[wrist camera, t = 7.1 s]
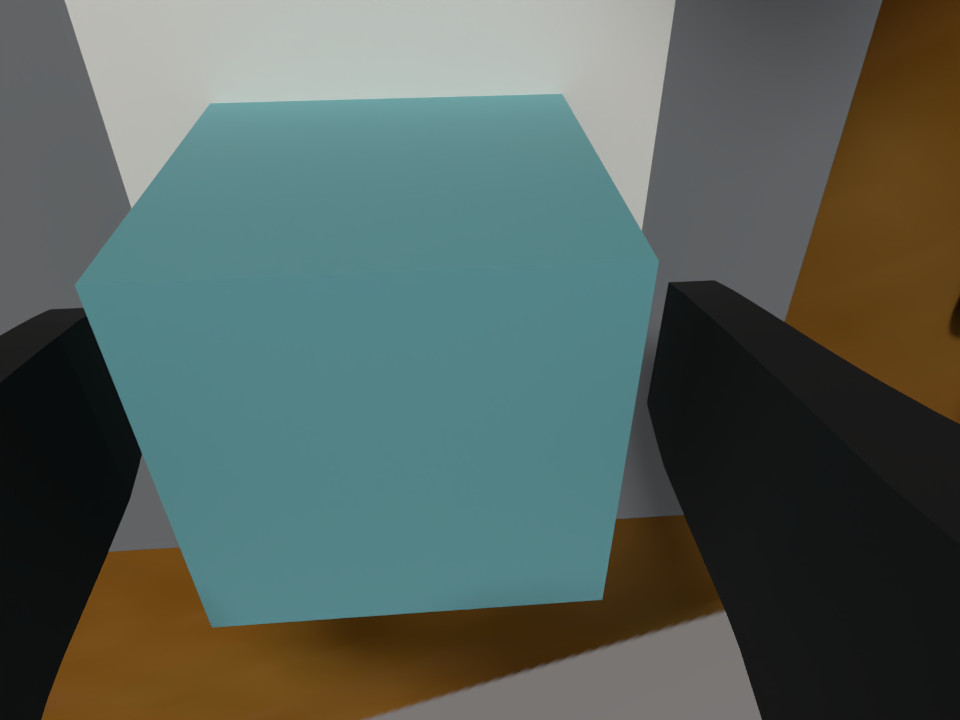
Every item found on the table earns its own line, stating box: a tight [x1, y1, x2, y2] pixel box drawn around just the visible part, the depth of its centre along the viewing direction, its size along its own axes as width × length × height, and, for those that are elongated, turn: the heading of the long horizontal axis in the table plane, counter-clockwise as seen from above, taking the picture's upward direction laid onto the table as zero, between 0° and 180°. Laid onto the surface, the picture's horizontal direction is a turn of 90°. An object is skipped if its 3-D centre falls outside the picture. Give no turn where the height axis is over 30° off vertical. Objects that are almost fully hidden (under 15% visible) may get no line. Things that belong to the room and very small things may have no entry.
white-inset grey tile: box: [0, 0, 882, 552], centre depth 13 cm, size 14×14×3 cm
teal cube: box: [75, 94, 659, 627], centre depth 10 cm, size 5×5×5 cm
